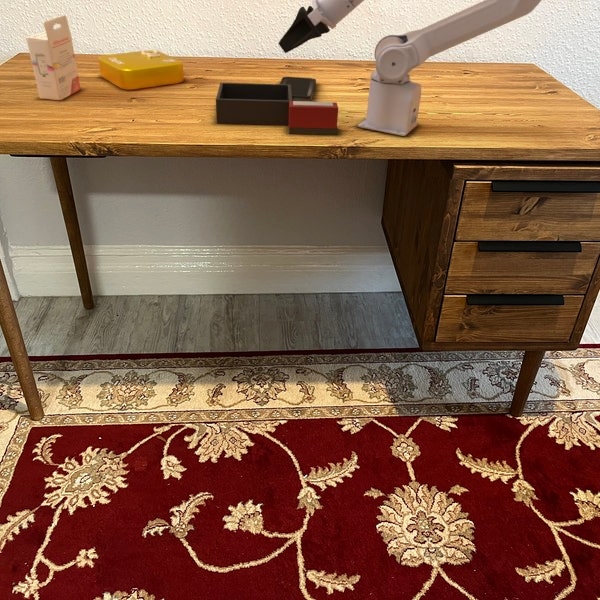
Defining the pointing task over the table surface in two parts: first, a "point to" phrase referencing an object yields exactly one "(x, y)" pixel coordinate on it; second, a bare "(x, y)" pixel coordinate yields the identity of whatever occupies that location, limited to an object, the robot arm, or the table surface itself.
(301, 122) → the red and black box
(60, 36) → the ink cartridge box
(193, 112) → the table surface
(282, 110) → the bin
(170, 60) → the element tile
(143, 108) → the table surface
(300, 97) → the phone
